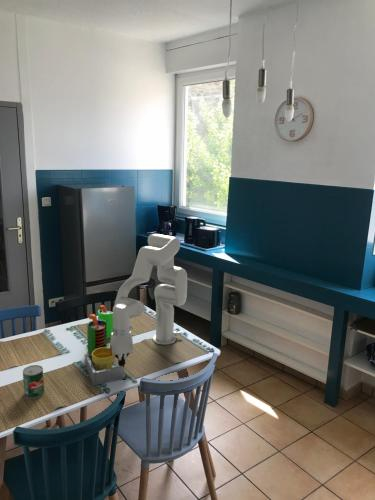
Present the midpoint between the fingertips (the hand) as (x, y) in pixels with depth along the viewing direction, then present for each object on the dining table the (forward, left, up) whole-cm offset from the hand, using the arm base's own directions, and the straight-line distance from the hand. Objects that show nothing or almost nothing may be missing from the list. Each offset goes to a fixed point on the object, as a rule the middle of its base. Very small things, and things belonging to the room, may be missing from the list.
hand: (121, 366), depth 190 cm
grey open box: (+8, 0, -1) cm, 8 cm away
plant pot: (+8, -1, -2) cm, 9 cm away
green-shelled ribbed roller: (-2, -37, -2) cm, 37 cm away
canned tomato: (+39, +5, -2) cm, 40 cm away
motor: (+7, -20, -2) cm, 21 cm away
